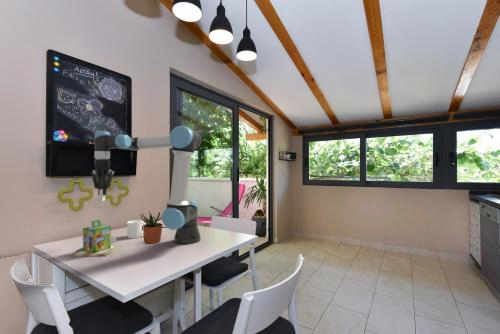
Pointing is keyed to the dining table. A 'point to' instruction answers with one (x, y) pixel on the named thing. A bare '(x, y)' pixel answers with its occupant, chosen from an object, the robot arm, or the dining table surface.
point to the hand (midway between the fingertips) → (102, 200)
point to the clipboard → (100, 253)
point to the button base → (113, 239)
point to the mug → (135, 229)
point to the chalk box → (96, 237)
